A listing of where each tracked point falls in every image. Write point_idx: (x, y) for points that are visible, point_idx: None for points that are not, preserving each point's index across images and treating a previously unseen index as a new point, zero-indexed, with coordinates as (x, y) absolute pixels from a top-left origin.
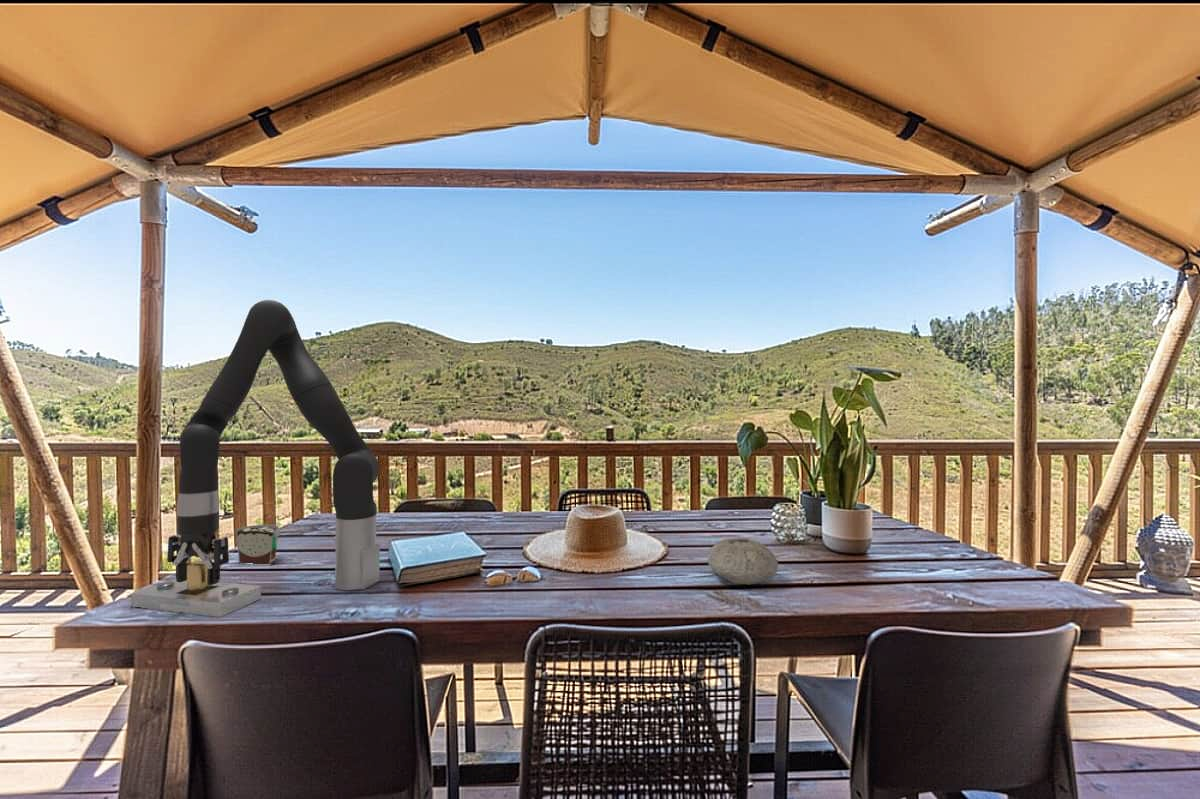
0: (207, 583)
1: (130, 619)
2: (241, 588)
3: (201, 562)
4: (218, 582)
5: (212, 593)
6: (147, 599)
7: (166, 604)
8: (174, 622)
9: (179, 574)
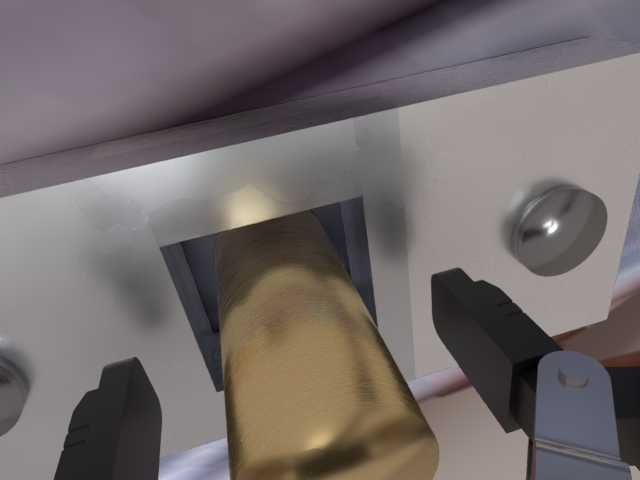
0: (441, 337)
1: (204, 462)
2: (560, 146)
3: (338, 462)
4: (256, 148)
5: None
6: None
7: None
8: (416, 383)
9: (156, 466)
